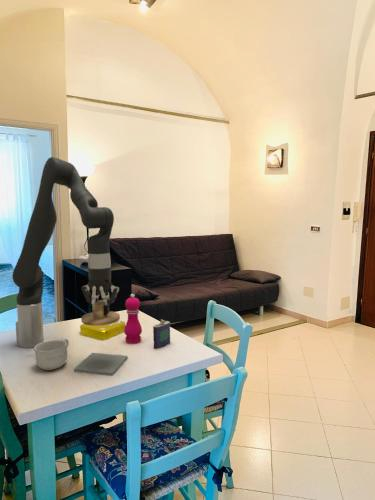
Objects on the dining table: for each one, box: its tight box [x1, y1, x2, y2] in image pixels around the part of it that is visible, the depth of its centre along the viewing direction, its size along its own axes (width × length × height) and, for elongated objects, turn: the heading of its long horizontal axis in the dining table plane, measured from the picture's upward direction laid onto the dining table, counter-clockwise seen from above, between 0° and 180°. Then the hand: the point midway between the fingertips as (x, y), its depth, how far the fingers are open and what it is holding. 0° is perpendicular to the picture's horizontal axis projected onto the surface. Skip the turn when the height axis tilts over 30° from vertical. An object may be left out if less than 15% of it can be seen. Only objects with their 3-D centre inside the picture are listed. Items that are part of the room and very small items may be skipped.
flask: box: [152, 319, 171, 350], centre depth 149 cm, size 9×3×11 cm, turn 144°
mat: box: [73, 352, 129, 377], centre depth 132 cm, size 14×14×1 cm
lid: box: [81, 299, 121, 326], centre depth 129 cm, size 13×13×6 cm
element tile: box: [79, 320, 126, 341], centre depth 165 cm, size 15×15×5 cm
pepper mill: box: [123, 293, 143, 345], centre depth 153 cm, size 7×7×20 cm
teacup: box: [33, 338, 69, 371], centre depth 131 cm, size 14×11×8 cm
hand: (101, 314), depth 130 cm, fingers closed on lid, 3 cm apart
